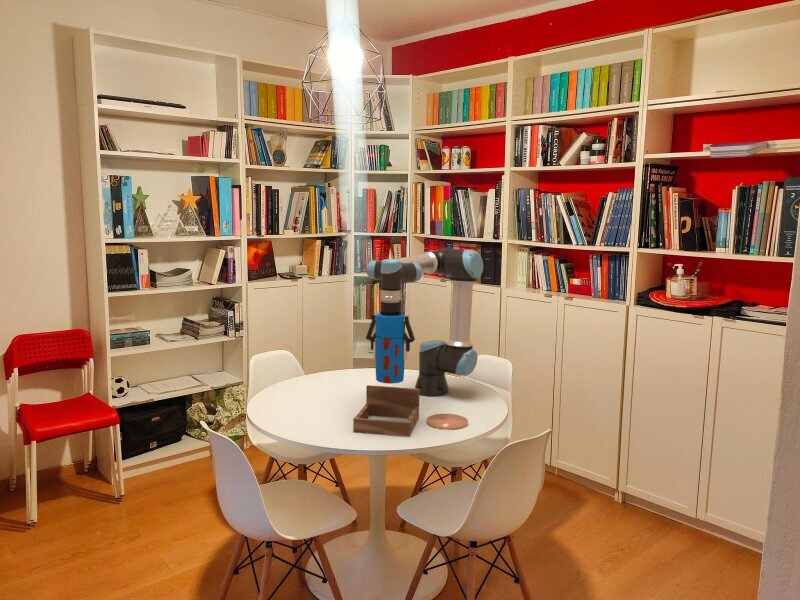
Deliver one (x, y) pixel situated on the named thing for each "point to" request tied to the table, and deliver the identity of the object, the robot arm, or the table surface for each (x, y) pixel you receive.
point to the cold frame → (388, 411)
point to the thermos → (390, 348)
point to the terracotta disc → (447, 421)
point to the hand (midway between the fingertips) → (390, 359)
